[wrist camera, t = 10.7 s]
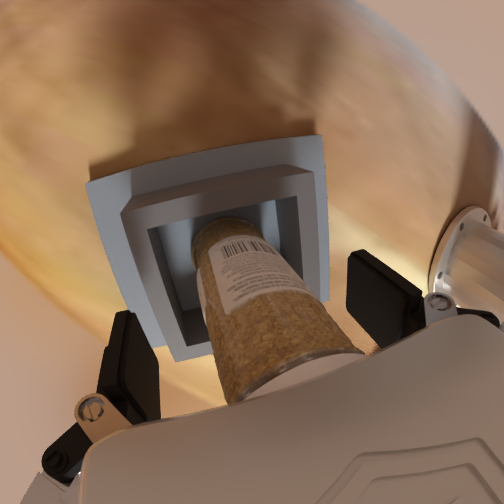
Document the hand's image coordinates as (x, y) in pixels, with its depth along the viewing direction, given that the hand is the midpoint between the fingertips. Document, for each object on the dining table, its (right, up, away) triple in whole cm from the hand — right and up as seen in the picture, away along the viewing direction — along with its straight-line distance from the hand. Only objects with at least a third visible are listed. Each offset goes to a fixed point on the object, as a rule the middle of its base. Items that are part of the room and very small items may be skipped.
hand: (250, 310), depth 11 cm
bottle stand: (-2, +3, +6) cm, 7 cm away
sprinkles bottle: (-1, +3, +6) cm, 6 cm away
